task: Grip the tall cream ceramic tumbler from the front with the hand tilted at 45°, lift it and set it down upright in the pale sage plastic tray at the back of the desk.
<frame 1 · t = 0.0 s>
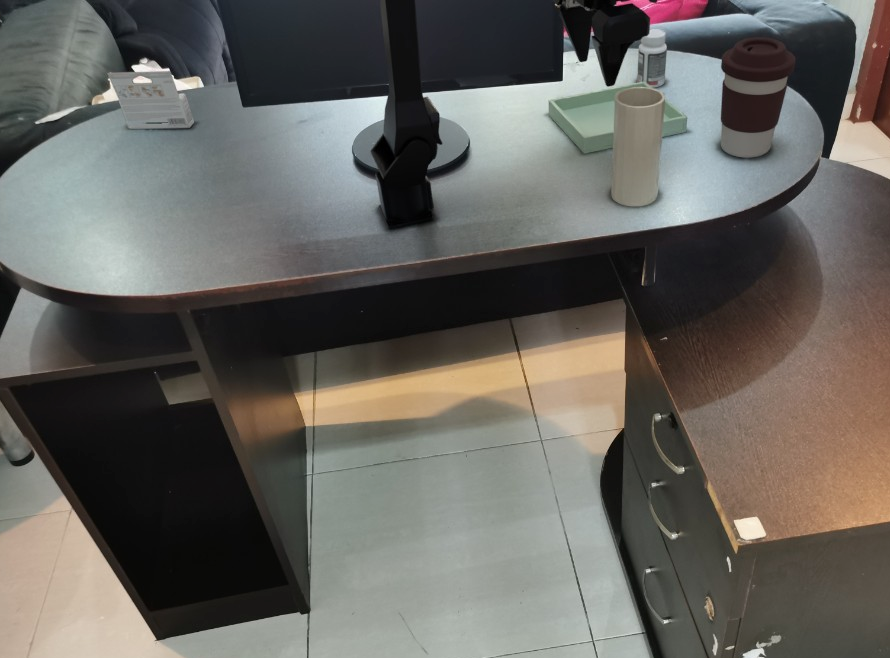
hand: (596, 73, 111), 15 cm above the table, tool pointing down, fingers open, 9 cm apart
coffee cup: (744, 149, 125), on the table
pill bottle: (650, 83, 144), on the table
tumbler: (634, 194, 116), on the table
tray: (615, 123, 133), on the table
ink cartridge box: (162, 127, 142), on the table
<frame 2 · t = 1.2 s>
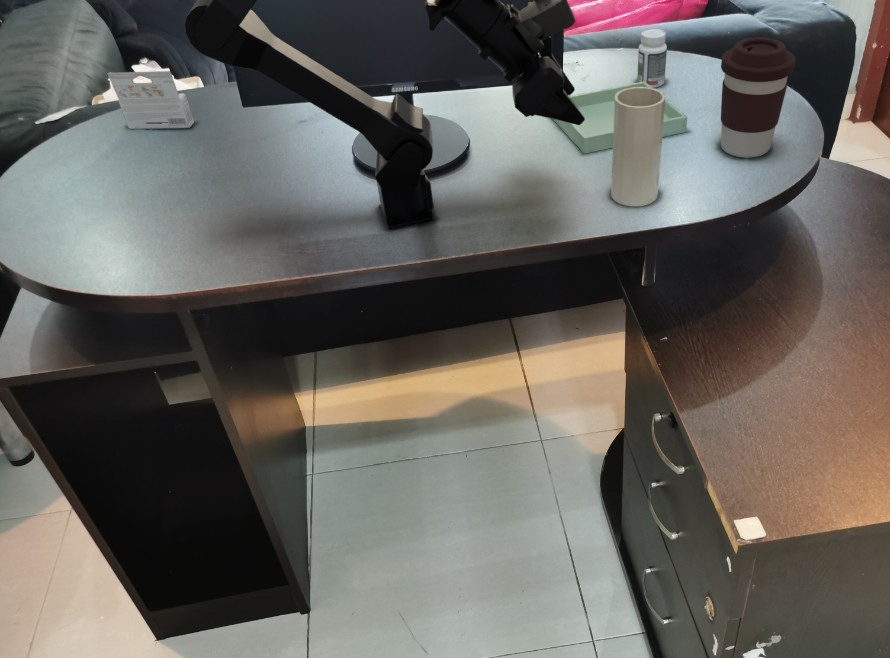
hand: (577, 106, 107), 13 cm above the table, tool tilted 45°, fingers open, 9 cm apart
nothing on the table moved.
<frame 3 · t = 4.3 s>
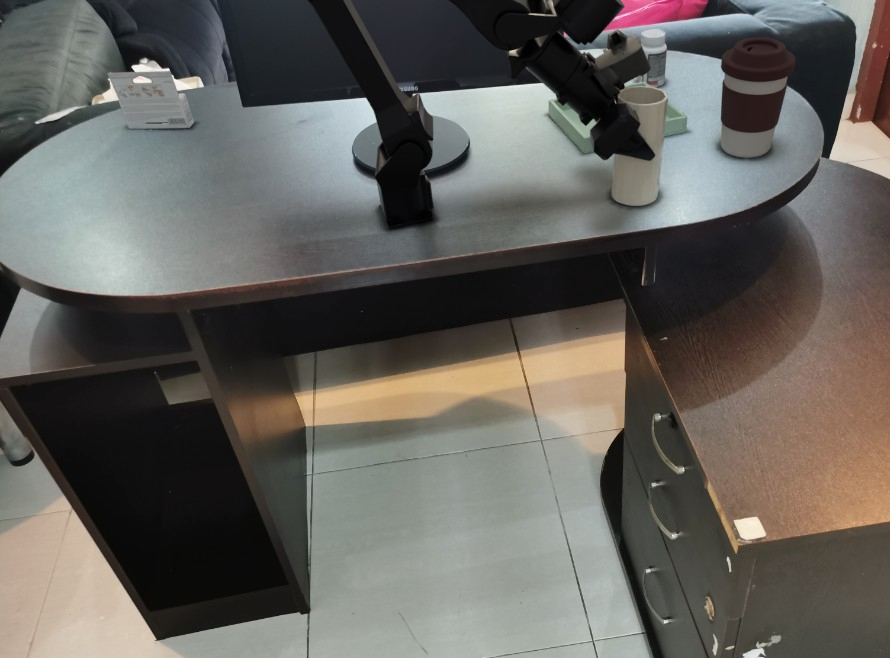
hand: (647, 146, 111), 7 cm above the table, tool tilted 45°, fingers closed on tumbler, 6 cm apart
tumbler: (634, 194, 116), on the table, touching gripper
everything else where it was.
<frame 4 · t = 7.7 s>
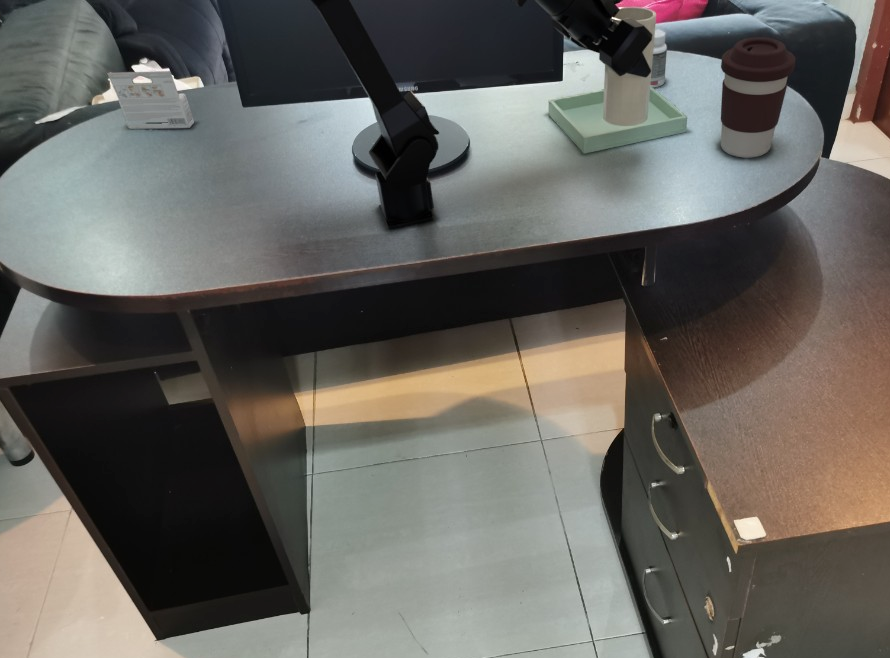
hand: (636, 65, 115), 14 cm above the table, tool tilted 45°, fingers closed on tumbler, 6 cm apart
tumbler: (625, 117, 119), point 7 cm above the table, touching gripper
everything else where it was.
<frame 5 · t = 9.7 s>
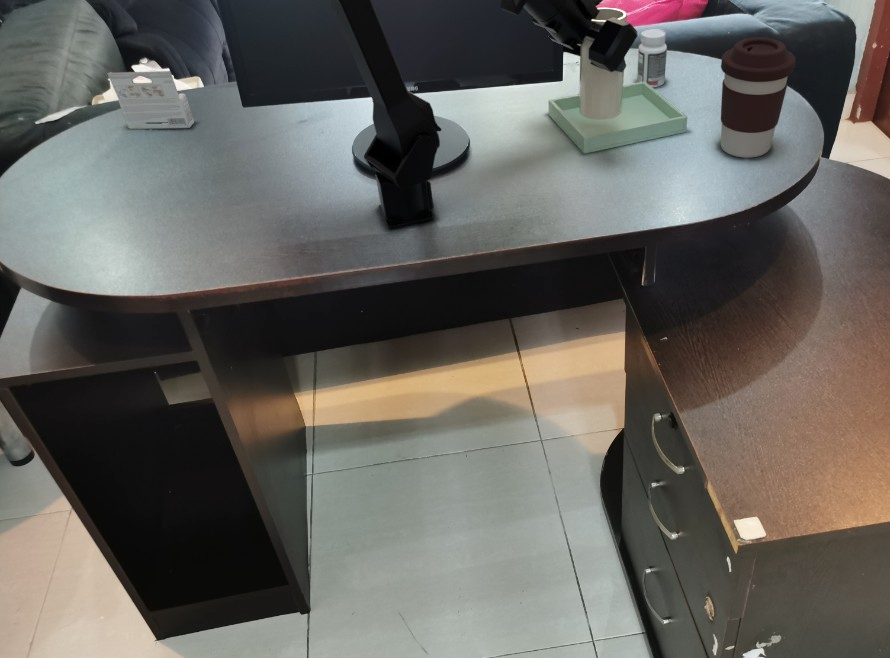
hand: (608, 62, 123), 11 cm above the table, tool tilted 45°, fingers closed on tumbler, 6 cm apart
tumbler: (600, 111, 127), point 4 cm above the table, touching gripper
everything else where it was.
when the fingers open (8 cm above the table, at t = 11.3 s): tumbler stays where it is, resting on tray.
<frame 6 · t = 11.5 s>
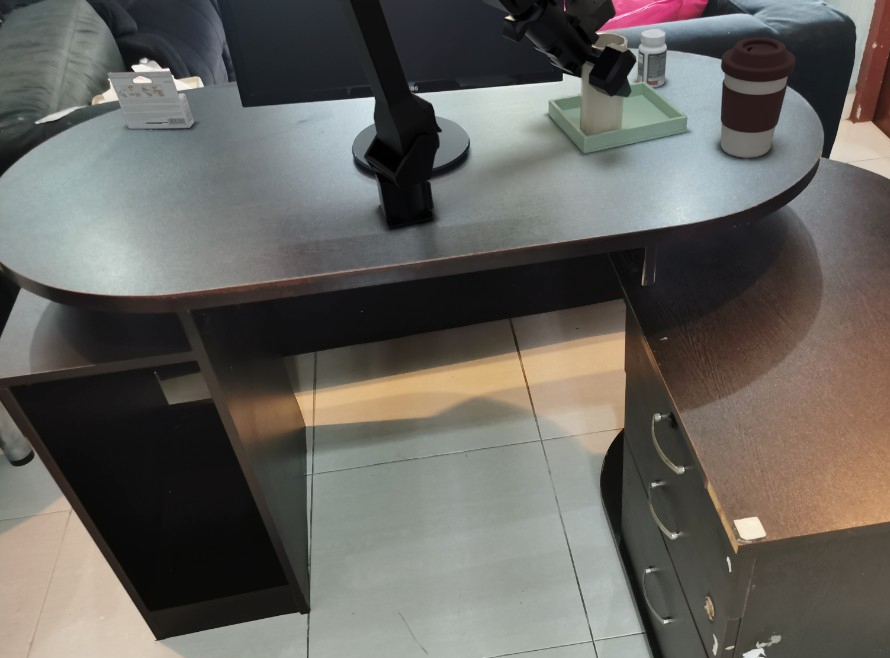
hand: (608, 85, 125), 8 cm above the table, tool tilted 45°, fingers open, 9 cm apart
tumbler: (600, 132, 129), point 1 cm above the table, touching gripper, tray
everything else where it was.
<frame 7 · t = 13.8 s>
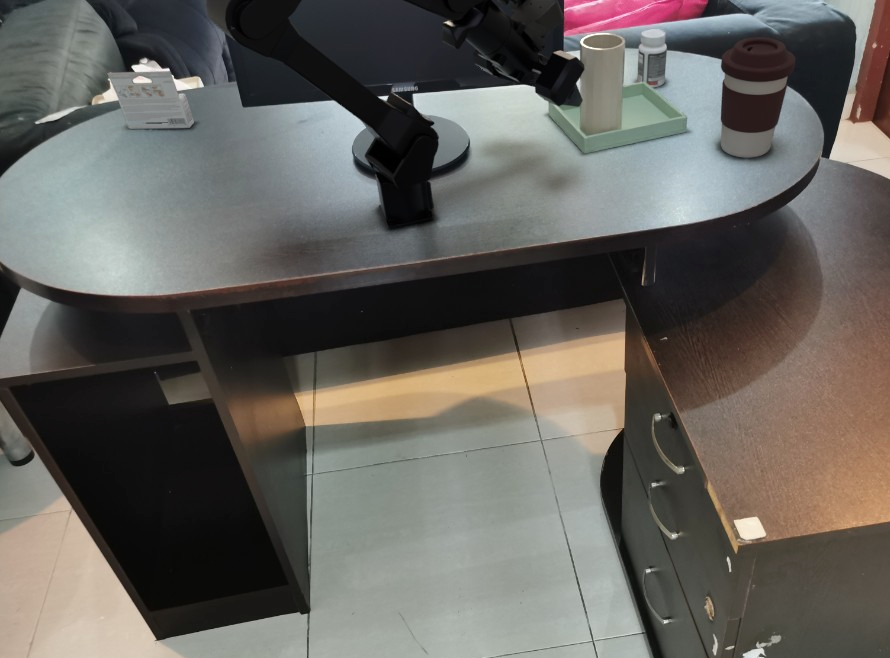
hand: (559, 93, 120), 9 cm above the table, tool tilted 45°, fingers open, 9 cm apart
tumbler: (600, 133, 129), resting on tray
everything else where it was.
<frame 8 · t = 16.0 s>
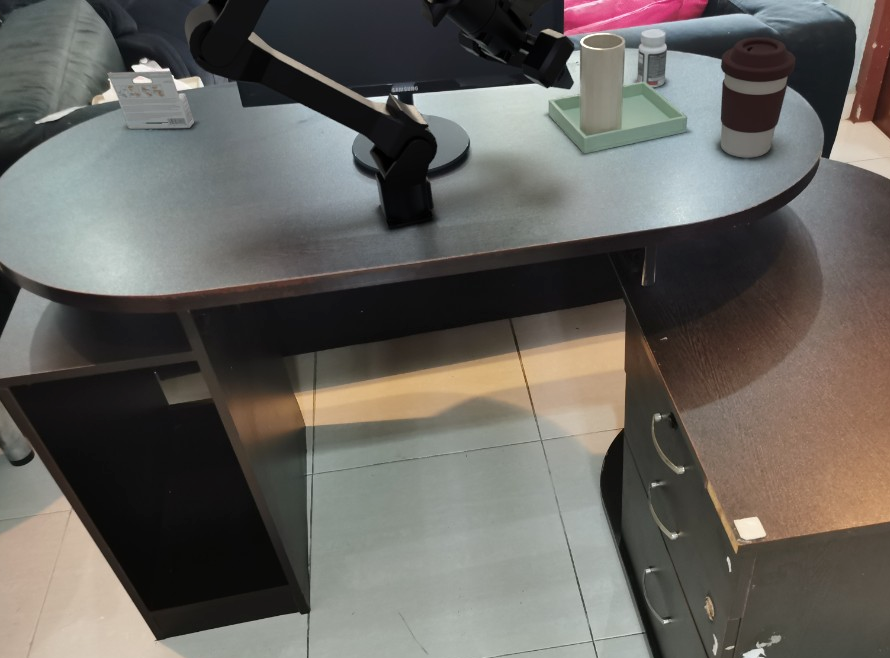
hand: (549, 76, 114), 14 cm above the table, tool tilted 45°, fingers open, 9 cm apart
nothing on the table moved.
at the end: tumbler inside the target area in the tray (5.1 cm from its centre), point 0.5 cm above the tray's base; tumbler tilted 0°; the gripper is holding nothing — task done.
